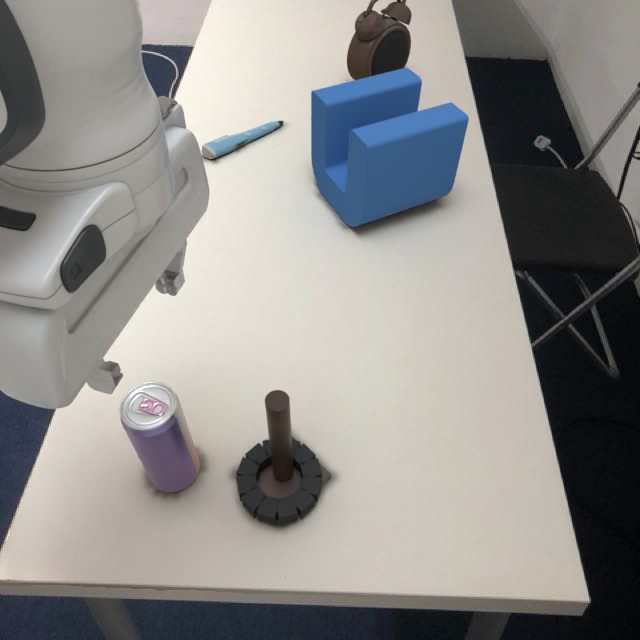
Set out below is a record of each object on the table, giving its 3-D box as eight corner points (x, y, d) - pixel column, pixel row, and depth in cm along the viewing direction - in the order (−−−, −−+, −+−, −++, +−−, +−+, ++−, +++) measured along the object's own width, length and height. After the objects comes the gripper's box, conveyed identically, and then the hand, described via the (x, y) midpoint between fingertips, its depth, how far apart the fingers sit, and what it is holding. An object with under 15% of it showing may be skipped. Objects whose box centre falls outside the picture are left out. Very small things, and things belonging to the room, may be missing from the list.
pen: (210, 163, 109) (208, 150, 106) (201, 156, 110) (199, 143, 108) (288, 127, 117) (287, 114, 115) (278, 121, 119) (277, 108, 116)
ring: (276, 543, 62) (275, 535, 60) (221, 482, 66) (219, 474, 64) (338, 484, 66) (339, 476, 64) (283, 431, 70) (282, 422, 69)
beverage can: (186, 501, 66) (159, 438, 54) (140, 485, 67) (105, 420, 55) (209, 456, 69) (188, 389, 58) (165, 442, 70) (137, 373, 59)
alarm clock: (365, 107, 122) (373, 8, 107) (342, 94, 126) (347, -3, 111) (411, 85, 129) (424, -11, 114) (388, 73, 132) (398, -21, 117)
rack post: (280, 523, 64) (272, 453, 51) (236, 475, 68) (218, 398, 55) (331, 478, 68) (335, 401, 55) (286, 434, 71) (281, 353, 58)
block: (447, 210, 100) (469, 116, 87) (359, 240, 95) (367, 146, 81) (393, 157, 111) (405, 66, 97) (311, 182, 105) (311, 89, 91)
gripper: (131, 75, 38) (168, 234, 48) (-102, 282, 25) (17, 438, 35) (219, 91, 37) (237, 250, 47) (23, 315, 24) (107, 467, 34)
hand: (141, 332), depth 41 cm, fingers open, 8 cm apart
